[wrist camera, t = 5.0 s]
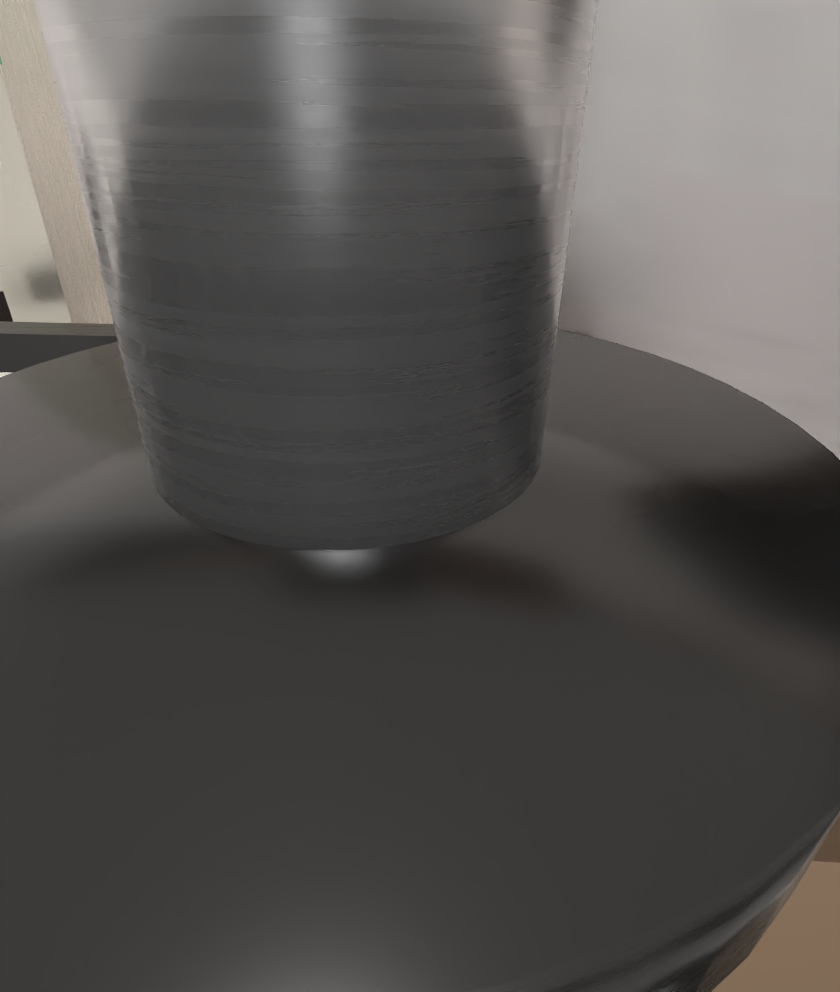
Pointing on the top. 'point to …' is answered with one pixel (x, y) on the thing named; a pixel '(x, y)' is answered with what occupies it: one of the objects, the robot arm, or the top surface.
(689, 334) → the top surface
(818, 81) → the top surface
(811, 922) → the walnut block
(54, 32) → the plunger
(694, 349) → the top surface
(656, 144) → the top surface
